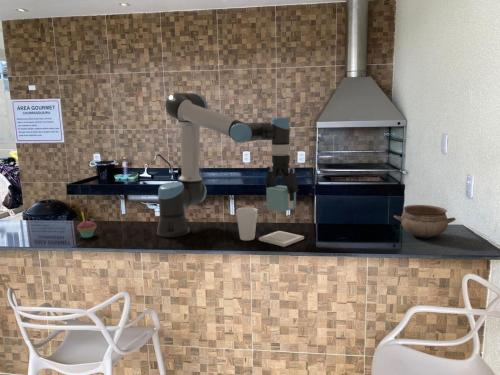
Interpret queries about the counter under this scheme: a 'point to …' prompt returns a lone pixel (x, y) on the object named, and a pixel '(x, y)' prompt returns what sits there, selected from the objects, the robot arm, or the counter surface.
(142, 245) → the counter surface
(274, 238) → the mat
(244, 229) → the foam cup
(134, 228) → the counter surface
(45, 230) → the counter surface
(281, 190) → the block
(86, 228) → the cupcake
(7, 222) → the counter surface
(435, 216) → the cooking pot
